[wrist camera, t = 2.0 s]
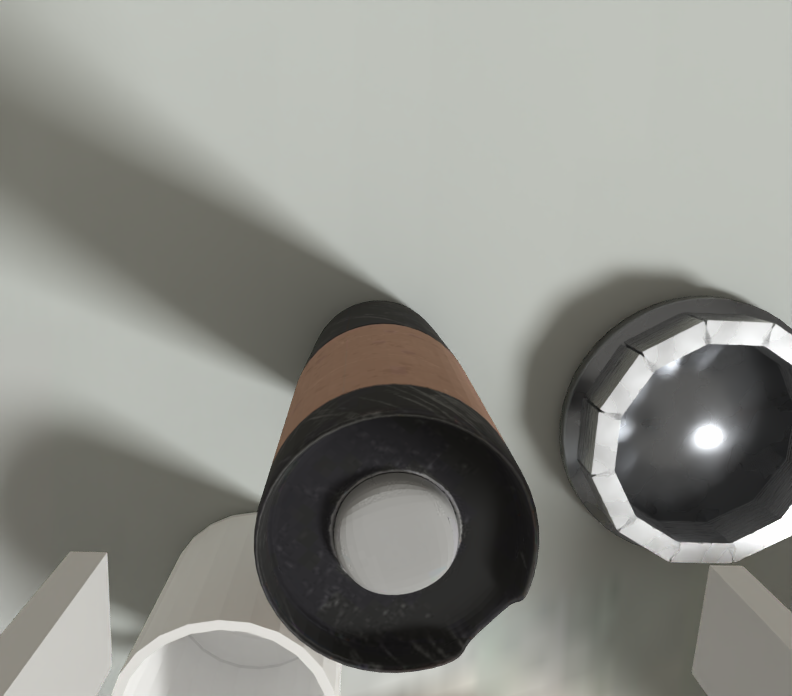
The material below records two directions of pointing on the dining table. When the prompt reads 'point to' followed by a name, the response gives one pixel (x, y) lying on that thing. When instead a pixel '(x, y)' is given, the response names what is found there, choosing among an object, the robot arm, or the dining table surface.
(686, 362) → the ring
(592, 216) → the dining table surface
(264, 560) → the travel mug
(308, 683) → the mug
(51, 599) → the robot arm
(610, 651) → the dining table surface
